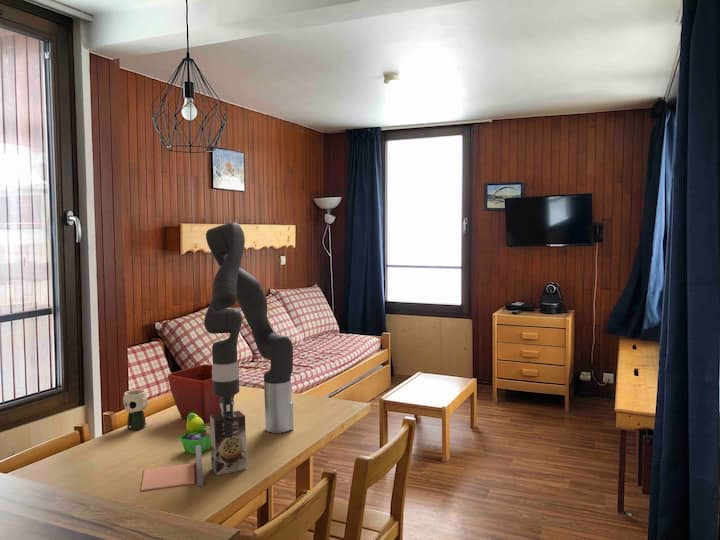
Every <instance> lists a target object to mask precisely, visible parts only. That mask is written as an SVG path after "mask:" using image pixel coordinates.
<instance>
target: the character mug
mask: <svg viewBox="0 0 720 540" xmlns="http://www.w3.org/2000/svg"><path fill="white" fill-rule="evenodd" d="M146 395H147V393H146V390H145V389H131V390H127V391H124V394H123V396H122V397H123V398H122V401H123V405H124V409H125V412H128V414H127V425H126V427H127V429H131V430H138V429H141V428H143V427H145V426H146V425H147V423H146V416H145V412H144V410H146V408H148V407H149V405H148V398H147V397H146Z"/></svg>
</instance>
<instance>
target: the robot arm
mask: <svg viewBox="0 0 720 540" xmlns="http://www.w3.org/2000/svg"><path fill="white" fill-rule="evenodd" d="M243 230H244V229H243V228H242V227H241V225H240V224H239V223H237V222H235V221H231V222H228V223H225V224H221V225H219V226H214V227H211V228H210V229H208V230H207V231H206V232H205V239H206V240H205V241H206V243H207V244H206V245H207V247H208V248H209V250H210V252H211V254H212V256H213V257H214V259H215V260H216V263H217V265H218V266H219V268H218V270H217V272H216V274H215V275H214V279H213V283H212V296H211V301H210V303H209V306H208V309H207V310H206V313H205V315H204V318H203V319H204V320H203V326H204V329H205V330H206V332H207V333H209V334H211V335H212V334H213V335H215V334H229V336H228V337H227V338H226V339H223V340H219V341H215V342H214V343H212V346H211V356H212V365H213V366H212V382H213V394H214V395H216V396H221V399H219V402H220V410H221V414H222V417H223V418H224V422H223V424H224V429H225V438H231V437H233V427H232V424H233V423H234V421H233V416H234V410H235V409H234V407H235V401H234V399H233V398H231V396H232V395H234V396H235V395H237V394H239V393H240V374H239V373H240V369H239V364H238V340H239V334H240V331H241V328H242V324H243V315H244V318H245V320H246V322H247V325H248V326H249V328H250V330H251V331H250V332H251V334H252V337H253V340H254V343H255V345H256V348H257V350H258V353H259V355H261V357H262V358H264V359H265V360H267V361H270V366H269V370H267V371H265V372H264V374H263V387H264V388H263V391H264V393H263V395H264V416H265V417H264V418H265V421H264V422H265V432H268V433H270V432H271V434H282V432H283V433H287V432H289V430H290V431H294V430H293V429H295V428H294V408H293V407H294V406H293V403H294V402H293V400H292V377H291V376H292V373H293V368H294V347H293V342H292V340H291V339H290V338H289V336H285V335H281V334H277V333H276V332H275V331H274V329H273V328H272V326H271V324H270V322H269V319H268V300H267V297H266V294H265V292H264V290H263V287H262V285H261V283H260V282H259V280H258V279H257V278H256V277H255V276H253V275H252V274H250V273H249V272H248V271H246V270H245V269H243V268H241V267H240V266H241V263H242V258H243V254H244V249H245V244H246V243H245V242H246V240H245V238H246V237H245V232H244V231H243ZM236 303H237V304H238V306H239V309H238V308H232V307H233V306H235V305H236ZM241 312H242V313H243V315H242V313H241ZM226 417H231V420H227V421H226ZM286 431H287V432H286Z"/></svg>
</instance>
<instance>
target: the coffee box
mask: <svg viewBox="0 0 720 540" xmlns="http://www.w3.org/2000/svg"><path fill="white" fill-rule="evenodd" d="M227 420H231V417H226V421H227ZM233 421H234V423H233V424H232V427H233V437H231V438H225V429H224V424H223V422H224V418H223V417H222V414H215V415H210V421H209V424H210V425H209V427H210V430H211V448H210V456H211V457H210V460H211V461H210V462H211V463H210V464H211V469H212V471H213V472H214V474H215V475H216V476H221V475H225V474H230V473H235V472H239V471H244V470H247V469H248V467H247V435H246V433H247V432H246V416H245V414H244V413H242V411H240V410H236V411H234V416H233Z"/></svg>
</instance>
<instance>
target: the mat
mask: <svg viewBox="0 0 720 540" xmlns="http://www.w3.org/2000/svg"><path fill="white" fill-rule="evenodd" d="M195 481H196V480H195V463H194V462H193V463H185V464H178V465H177V464H176V465H170V466H161V467H154V468H153V467H152V468H147V469H146V468H145V469H144V470H143V475H142V480H141V487H140V492H144V491H151V490H152V491H153V490H159V489H168V488H174V487H181V486H187V485H189V486H190V485H195V483H196V482H195Z"/></svg>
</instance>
